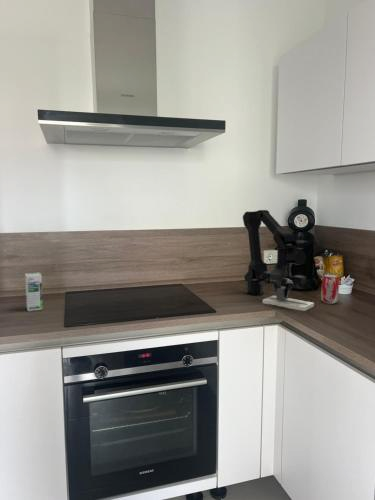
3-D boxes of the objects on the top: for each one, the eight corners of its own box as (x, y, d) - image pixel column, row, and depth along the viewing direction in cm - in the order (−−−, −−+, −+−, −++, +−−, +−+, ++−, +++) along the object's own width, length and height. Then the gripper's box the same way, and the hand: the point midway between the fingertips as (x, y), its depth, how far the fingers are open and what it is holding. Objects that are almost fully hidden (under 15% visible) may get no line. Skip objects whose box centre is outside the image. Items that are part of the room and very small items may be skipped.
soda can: (319, 303, 169) (321, 276, 168) (322, 299, 175) (323, 273, 174) (336, 305, 166) (338, 277, 164) (338, 301, 172) (340, 275, 171)
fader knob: (276, 299, 167) (276, 288, 166) (281, 297, 170) (282, 286, 170) (282, 300, 165) (283, 289, 164) (288, 298, 168) (288, 287, 168)
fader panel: (262, 303, 168) (262, 299, 168) (273, 298, 176) (273, 295, 176) (304, 311, 156) (304, 307, 156) (314, 306, 164) (314, 302, 164)
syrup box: (27, 311, 152) (26, 275, 150) (26, 307, 157) (24, 272, 155) (43, 309, 154) (41, 274, 153) (41, 306, 160) (39, 271, 158)
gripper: (255, 261, 165) (254, 296, 167) (296, 266, 153) (294, 304, 155) (267, 258, 174) (266, 292, 176) (307, 263, 162) (305, 299, 164)
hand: (282, 297), depth 167 cm, fingers closed on fader knob, 3 cm apart
